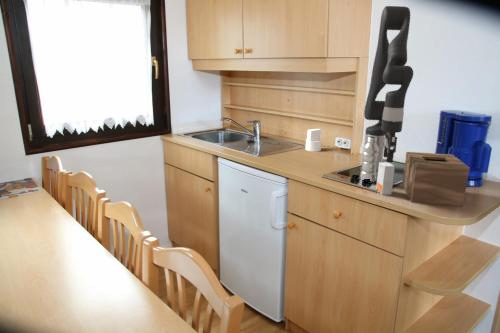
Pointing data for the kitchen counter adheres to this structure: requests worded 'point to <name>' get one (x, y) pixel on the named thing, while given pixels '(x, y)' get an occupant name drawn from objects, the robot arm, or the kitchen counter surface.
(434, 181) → the walnut slot box
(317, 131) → the cylinder with rectangular tab
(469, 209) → the kitchen counter surface
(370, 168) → the plastic bottle
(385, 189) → the skincare box
